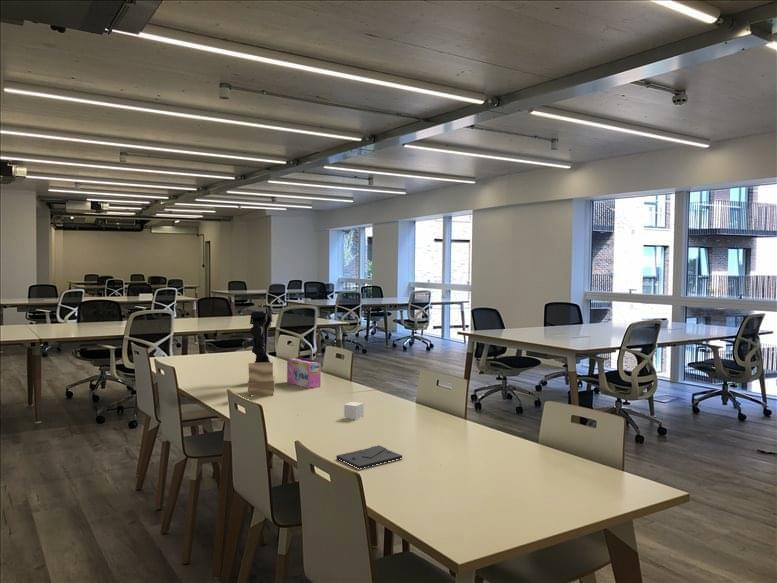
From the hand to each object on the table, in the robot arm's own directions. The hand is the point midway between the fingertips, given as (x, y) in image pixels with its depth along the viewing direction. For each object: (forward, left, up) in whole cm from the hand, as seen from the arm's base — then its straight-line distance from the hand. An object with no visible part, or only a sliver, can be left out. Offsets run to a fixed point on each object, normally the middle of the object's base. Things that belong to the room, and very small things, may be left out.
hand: (258, 363), depth 313 cm
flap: (+20, -7, -1) cm, 21 cm away
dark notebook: (+129, -13, -14) cm, 130 cm away
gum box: (+3, +24, -13) cm, 28 cm away
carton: (+12, -3, -13) cm, 18 cm away
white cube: (+79, +11, -13) cm, 81 cm away
